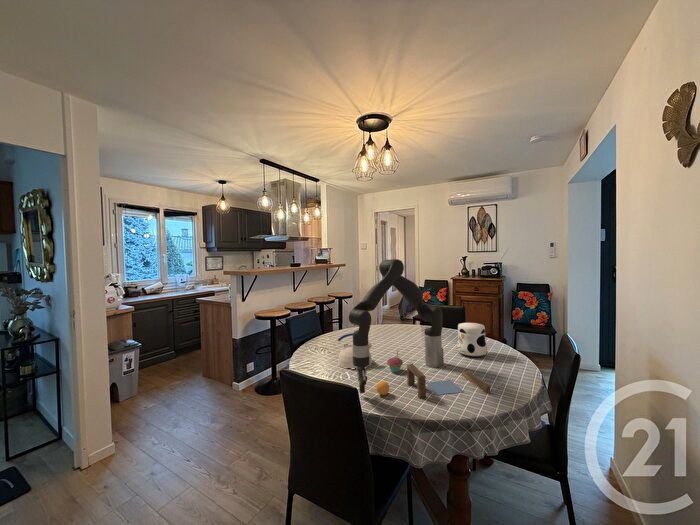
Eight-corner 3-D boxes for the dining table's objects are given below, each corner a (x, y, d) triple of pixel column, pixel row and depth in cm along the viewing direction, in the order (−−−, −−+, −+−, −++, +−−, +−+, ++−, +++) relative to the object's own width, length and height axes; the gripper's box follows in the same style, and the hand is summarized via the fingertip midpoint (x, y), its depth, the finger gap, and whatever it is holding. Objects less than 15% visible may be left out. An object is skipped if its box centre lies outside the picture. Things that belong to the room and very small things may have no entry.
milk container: (451, 352, 188) (450, 324, 188) (472, 348, 194) (471, 321, 194) (471, 360, 172) (470, 330, 172) (493, 356, 178) (493, 326, 178)
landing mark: (450, 380, 147) (450, 379, 147) (464, 391, 134) (464, 391, 134) (425, 383, 145) (425, 382, 145) (437, 395, 132) (437, 394, 132)
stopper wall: (465, 375, 152) (465, 369, 152) (490, 392, 132) (490, 386, 132) (462, 375, 152) (462, 369, 152) (486, 393, 132) (486, 386, 132)
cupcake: (401, 367, 166) (400, 346, 165) (404, 373, 157) (403, 351, 157) (386, 368, 165) (385, 346, 165) (388, 374, 157) (387, 351, 157)
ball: (387, 390, 138) (387, 378, 138) (391, 396, 132) (390, 383, 132) (374, 392, 137) (374, 379, 137) (378, 398, 131) (377, 384, 131)
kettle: (370, 370, 163) (369, 338, 163) (334, 369, 167) (332, 337, 167) (374, 358, 183) (373, 329, 182) (342, 356, 187) (341, 328, 187)
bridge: (413, 383, 145) (412, 363, 144) (426, 397, 130) (425, 375, 130) (407, 384, 144) (406, 364, 144) (419, 398, 129) (418, 376, 129)
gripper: (372, 358, 126) (373, 398, 127) (365, 348, 140) (367, 385, 140) (355, 359, 125) (356, 400, 126) (350, 350, 138) (351, 386, 139)
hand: (362, 392), depth 133 cm, fingers closed
